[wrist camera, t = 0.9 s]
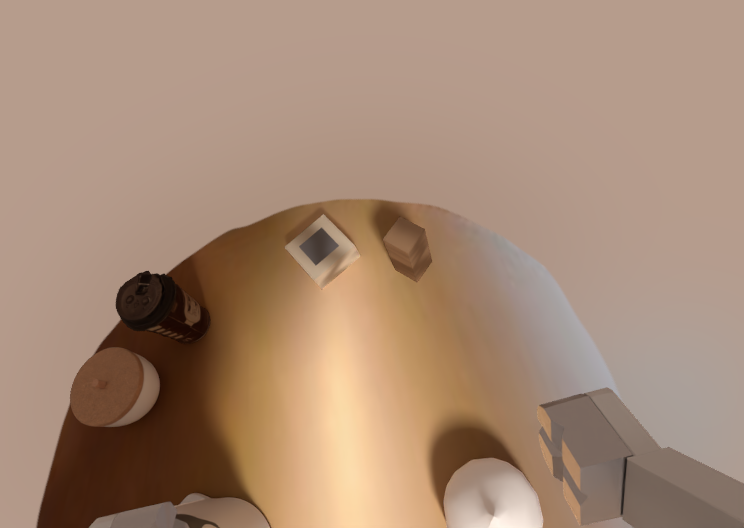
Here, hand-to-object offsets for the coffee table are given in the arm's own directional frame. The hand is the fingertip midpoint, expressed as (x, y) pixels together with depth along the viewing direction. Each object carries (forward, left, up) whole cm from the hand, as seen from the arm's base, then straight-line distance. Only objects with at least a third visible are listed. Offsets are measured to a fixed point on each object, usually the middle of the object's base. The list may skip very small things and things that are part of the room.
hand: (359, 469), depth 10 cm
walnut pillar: (+14, +25, -51) cm, 59 cm away
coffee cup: (-18, +42, -51) cm, 69 cm away
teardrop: (0, -5, -52) cm, 52 cm away
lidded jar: (-30, +38, -52) cm, 71 cm away
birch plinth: (+5, +36, -52) cm, 63 cm away
